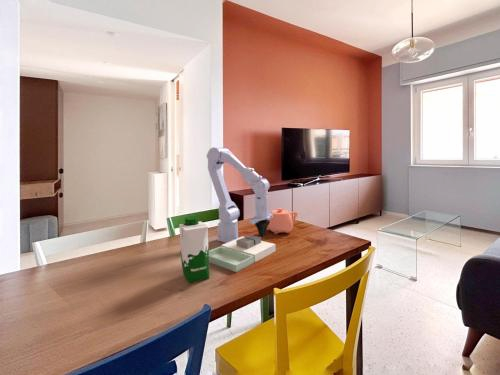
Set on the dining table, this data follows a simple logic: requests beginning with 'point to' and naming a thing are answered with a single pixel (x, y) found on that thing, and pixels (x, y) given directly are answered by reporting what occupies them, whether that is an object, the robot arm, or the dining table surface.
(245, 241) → the tile
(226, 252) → the box
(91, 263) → the dining table surface
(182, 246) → the milk carton
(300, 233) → the dining table surface
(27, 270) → the dining table surface
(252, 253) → the board
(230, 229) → the robot arm
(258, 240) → the tile
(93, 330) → the dining table surface
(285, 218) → the teapot
